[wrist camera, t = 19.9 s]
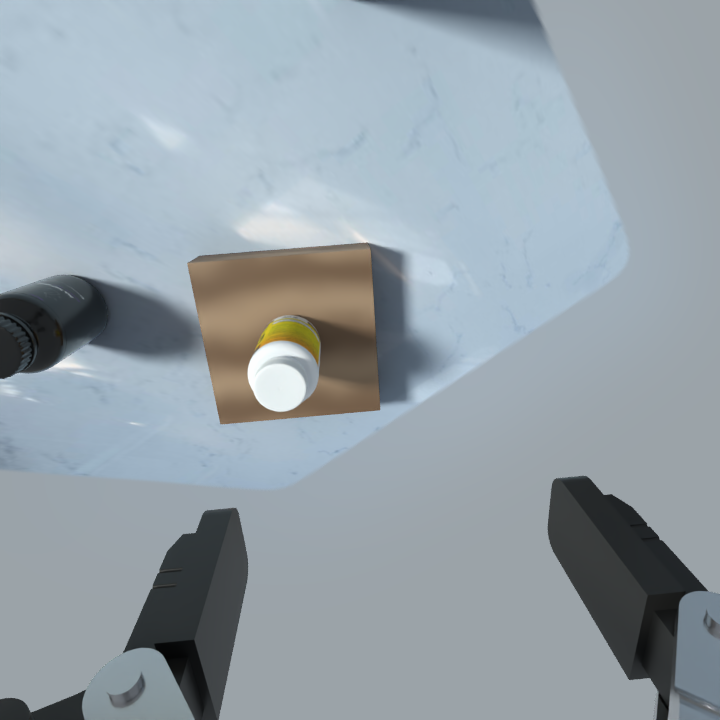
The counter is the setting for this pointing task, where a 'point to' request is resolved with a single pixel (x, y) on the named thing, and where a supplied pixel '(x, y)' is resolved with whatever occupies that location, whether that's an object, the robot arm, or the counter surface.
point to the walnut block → (289, 297)
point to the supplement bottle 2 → (285, 363)
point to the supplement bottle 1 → (47, 323)
